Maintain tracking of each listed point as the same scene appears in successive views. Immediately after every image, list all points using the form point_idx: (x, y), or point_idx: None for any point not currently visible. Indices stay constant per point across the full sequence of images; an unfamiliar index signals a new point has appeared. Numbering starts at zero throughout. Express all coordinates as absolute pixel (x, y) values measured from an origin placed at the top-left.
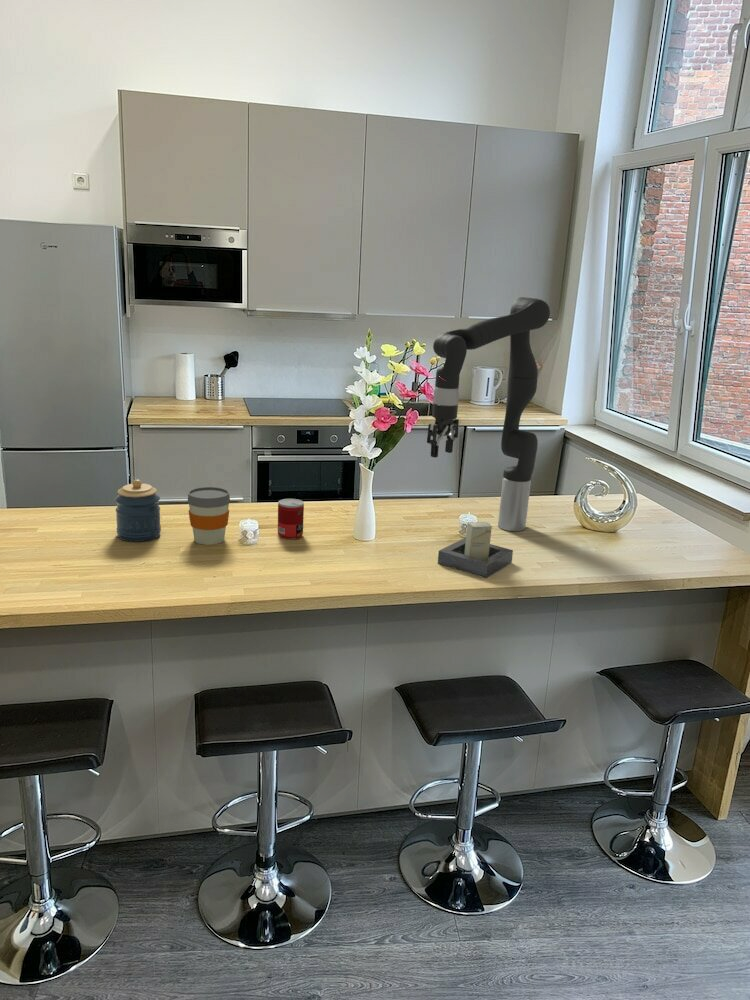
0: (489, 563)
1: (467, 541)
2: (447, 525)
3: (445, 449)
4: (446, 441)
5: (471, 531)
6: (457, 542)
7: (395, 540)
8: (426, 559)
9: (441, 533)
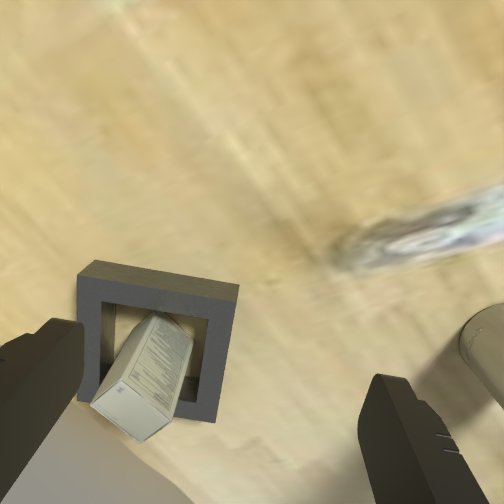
0: (89, 401)
1: (129, 349)
2: (432, 165)
3: (385, 388)
4: (426, 492)
5: (101, 387)
6: (176, 296)
7: (182, 68)
8: (101, 223)
9: (338, 178)
